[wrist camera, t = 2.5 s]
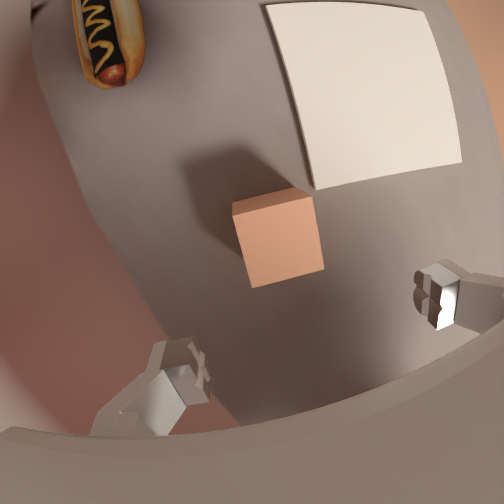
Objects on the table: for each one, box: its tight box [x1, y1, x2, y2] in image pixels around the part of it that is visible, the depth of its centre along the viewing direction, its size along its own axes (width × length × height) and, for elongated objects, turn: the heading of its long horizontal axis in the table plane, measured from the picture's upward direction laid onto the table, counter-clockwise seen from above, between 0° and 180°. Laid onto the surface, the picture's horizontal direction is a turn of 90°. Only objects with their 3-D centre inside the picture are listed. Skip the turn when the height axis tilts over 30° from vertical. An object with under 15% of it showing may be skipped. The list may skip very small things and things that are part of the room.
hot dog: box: [71, 0, 146, 89], centre depth 14 cm, size 5×13×5 cm, turn 17°
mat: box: [265, 2, 462, 190], centre depth 19 cm, size 16×16×1 cm
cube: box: [232, 187, 324, 288], centre depth 20 cm, size 5×5×5 cm
